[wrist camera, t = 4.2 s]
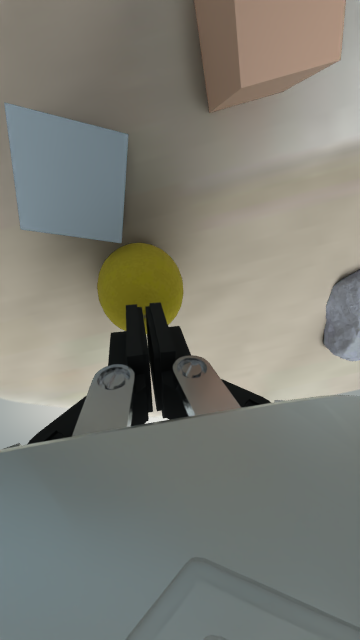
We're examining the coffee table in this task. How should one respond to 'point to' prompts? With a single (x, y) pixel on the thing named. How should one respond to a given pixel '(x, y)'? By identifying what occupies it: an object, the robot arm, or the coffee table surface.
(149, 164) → the coffee table surface
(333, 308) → the stone block
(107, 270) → the lemon
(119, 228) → the slate block
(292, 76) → the terracotta block
